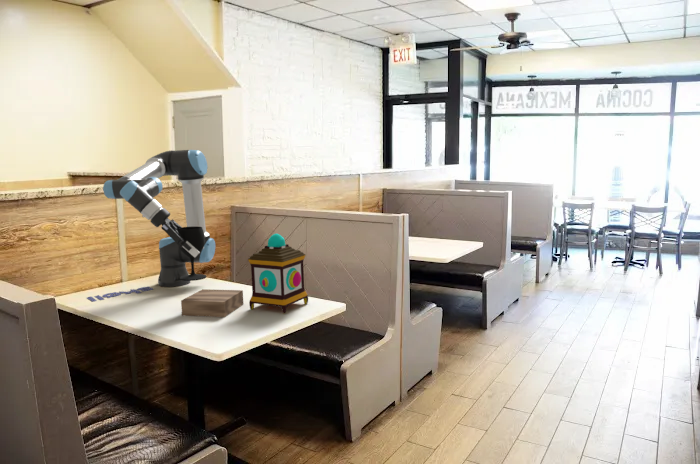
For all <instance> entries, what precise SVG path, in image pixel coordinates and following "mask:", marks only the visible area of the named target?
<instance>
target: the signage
mask: <svg viewBox="0 0 700 464" xmlns="http://www.w3.org/2000/svg"><path fill="white" fill-rule="evenodd" d="M153 290H154V288H153V287H151V286H143V287H138V288H137V289H134V288H133V289H130V291H129V290H127V291H124V290H122V291H118V292H116V291H114V292H109V293H105V294H102V296H101V295H99V294H98V295H95V296H89V297H86V299H87V300H89V301H90V302H93V303H94V302H97V299H98V300H99V301H104V300H105V298H107V299H110V298H115V297H119V296H121V295H122V294H125V295H130V294H132V293H135V294H137V295H138V294H141V293H142V292H149V291H153ZM95 298H96V299H95Z"/></svg>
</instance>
